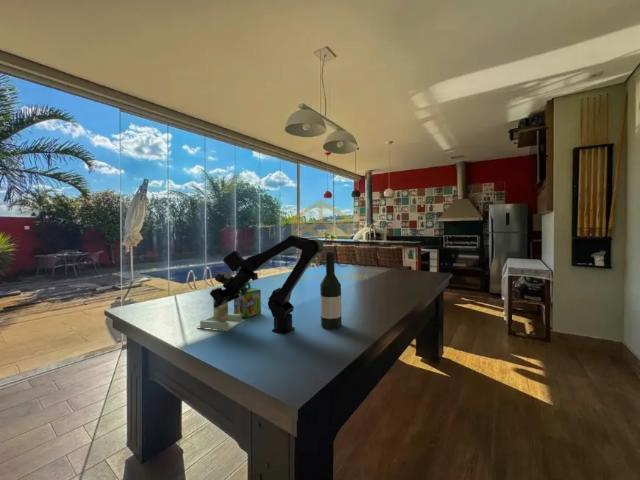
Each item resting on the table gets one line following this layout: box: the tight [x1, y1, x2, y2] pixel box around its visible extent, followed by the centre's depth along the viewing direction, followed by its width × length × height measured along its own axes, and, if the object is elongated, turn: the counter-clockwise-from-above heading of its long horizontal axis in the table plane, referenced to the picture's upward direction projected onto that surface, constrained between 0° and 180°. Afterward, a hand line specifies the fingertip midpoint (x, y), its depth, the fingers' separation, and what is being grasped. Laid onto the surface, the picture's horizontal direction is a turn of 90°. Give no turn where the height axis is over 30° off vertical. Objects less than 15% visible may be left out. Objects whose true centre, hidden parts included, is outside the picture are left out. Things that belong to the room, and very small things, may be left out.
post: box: [212, 288, 229, 322], centre depth 114 cm, size 4×4×13 cm
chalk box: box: [233, 281, 262, 319], centre depth 128 cm, size 9×9×15 cm
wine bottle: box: [319, 250, 342, 330], centre depth 110 cm, size 8×8×30 cm
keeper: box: [197, 313, 245, 332], centre depth 114 cm, size 14×12×3 cm
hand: (218, 305), depth 114 cm, fingers closed on post, 4 cm apart
